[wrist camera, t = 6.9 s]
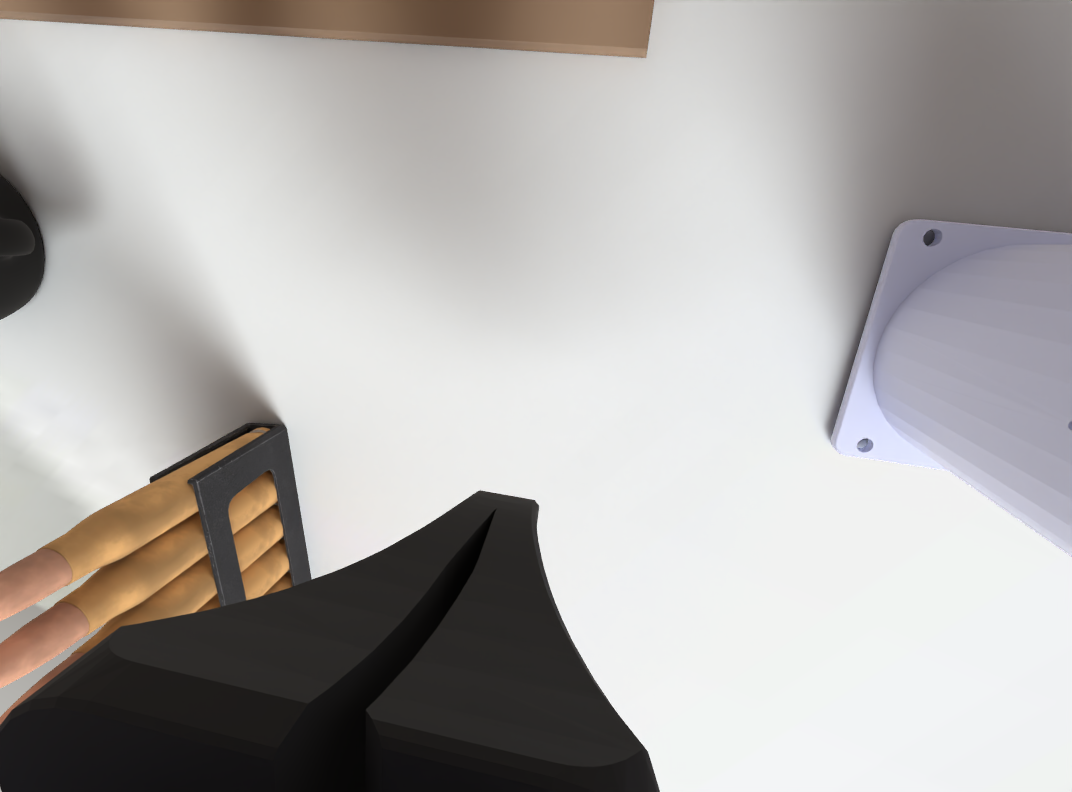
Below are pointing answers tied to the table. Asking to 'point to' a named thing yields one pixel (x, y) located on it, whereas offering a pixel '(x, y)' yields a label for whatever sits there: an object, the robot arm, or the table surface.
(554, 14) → the plank
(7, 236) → the mug
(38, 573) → the ammunition clip
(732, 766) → the table surface
